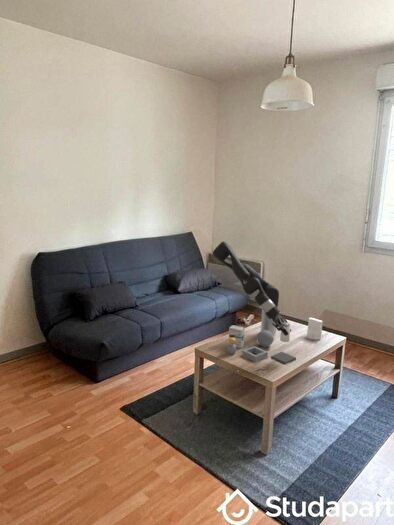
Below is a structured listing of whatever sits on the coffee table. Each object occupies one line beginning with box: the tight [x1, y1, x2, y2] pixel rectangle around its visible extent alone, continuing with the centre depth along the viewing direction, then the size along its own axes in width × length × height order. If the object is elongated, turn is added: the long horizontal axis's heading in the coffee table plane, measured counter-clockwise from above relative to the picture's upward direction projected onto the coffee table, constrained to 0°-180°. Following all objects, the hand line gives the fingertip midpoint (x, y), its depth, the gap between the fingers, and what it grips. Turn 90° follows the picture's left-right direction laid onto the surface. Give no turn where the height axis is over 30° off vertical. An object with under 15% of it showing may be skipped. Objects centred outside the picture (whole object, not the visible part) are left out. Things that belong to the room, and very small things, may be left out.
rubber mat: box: [270, 351, 297, 365], centre depth 222 cm, size 10×10×1 cm
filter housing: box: [226, 344, 269, 363], centre depth 225 cm, size 16×19×5 cm
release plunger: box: [228, 337, 236, 344], centre depth 226 cm, size 4×4×2 cm
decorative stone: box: [256, 330, 274, 348], centre depth 238 cm, size 10×10×10 cm
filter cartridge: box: [279, 321, 291, 343], centre depth 219 cm, size 5×5×10 cm
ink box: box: [227, 324, 246, 349], centre depth 237 cm, size 8×5×12 cm, turn 62°
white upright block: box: [306, 317, 323, 340], centre depth 255 cm, size 9×9×12 cm
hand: (288, 333), depth 218 cm, fingers closed on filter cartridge, 5 cm apart
